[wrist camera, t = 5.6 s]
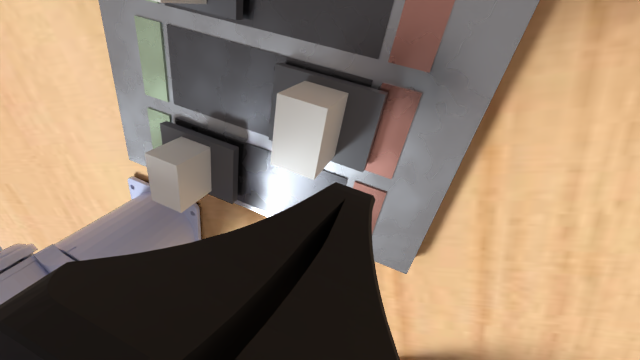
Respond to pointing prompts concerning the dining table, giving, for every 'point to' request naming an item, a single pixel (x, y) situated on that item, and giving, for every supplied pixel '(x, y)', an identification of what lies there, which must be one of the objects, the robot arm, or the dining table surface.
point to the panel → (332, 60)
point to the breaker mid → (321, 121)
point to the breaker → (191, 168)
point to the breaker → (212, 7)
